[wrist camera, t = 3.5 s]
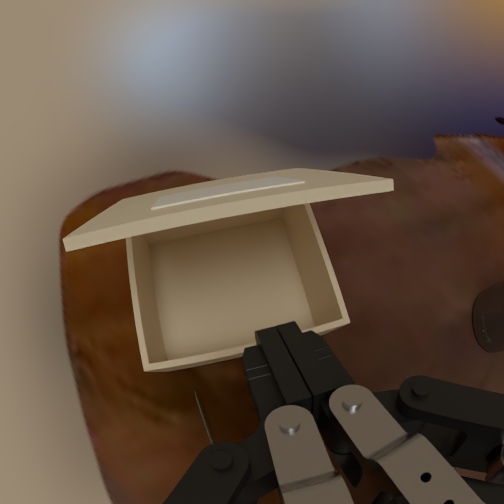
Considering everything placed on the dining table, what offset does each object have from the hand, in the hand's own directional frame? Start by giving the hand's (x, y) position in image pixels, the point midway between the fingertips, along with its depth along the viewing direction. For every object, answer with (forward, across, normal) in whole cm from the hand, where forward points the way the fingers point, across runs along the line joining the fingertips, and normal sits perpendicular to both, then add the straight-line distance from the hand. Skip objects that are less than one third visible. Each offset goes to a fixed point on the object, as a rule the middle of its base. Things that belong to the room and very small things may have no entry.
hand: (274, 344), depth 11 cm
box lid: (+11, 0, -3) cm, 11 cm away
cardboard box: (+19, 0, +8) cm, 20 cm away
